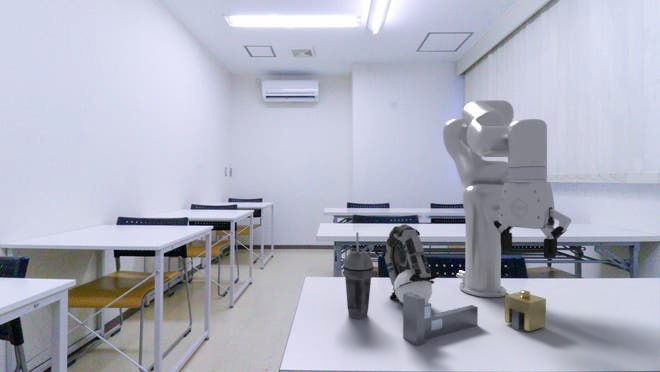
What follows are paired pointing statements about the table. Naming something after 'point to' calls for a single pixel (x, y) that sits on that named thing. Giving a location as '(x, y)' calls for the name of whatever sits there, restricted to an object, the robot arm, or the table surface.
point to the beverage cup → (358, 282)
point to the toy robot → (407, 263)
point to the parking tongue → (518, 320)
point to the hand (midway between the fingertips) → (526, 253)
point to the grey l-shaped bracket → (433, 319)
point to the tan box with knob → (526, 309)
